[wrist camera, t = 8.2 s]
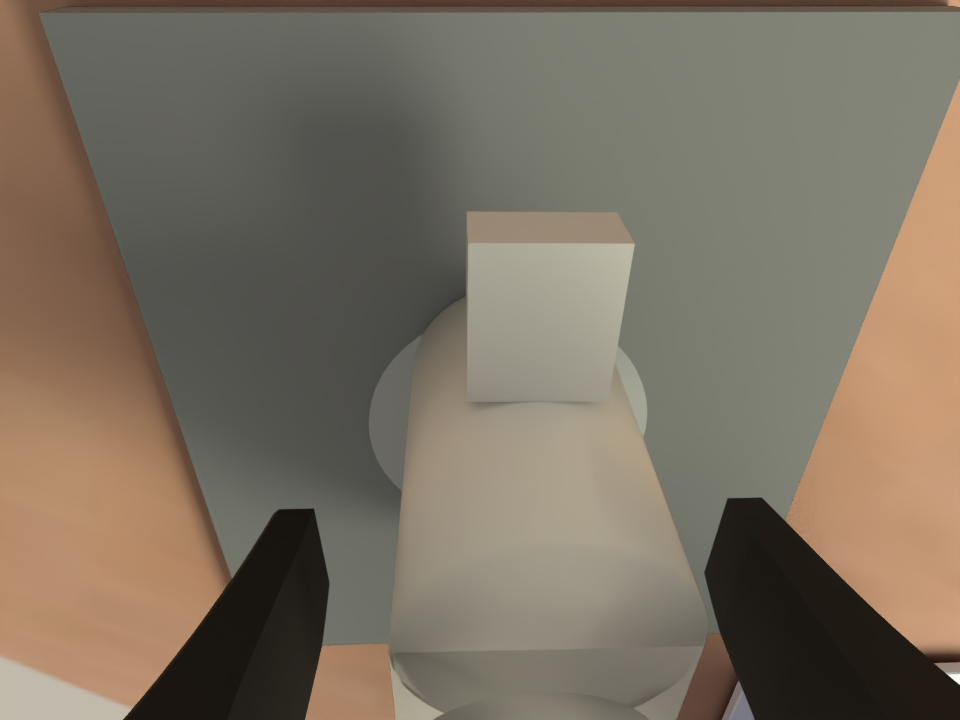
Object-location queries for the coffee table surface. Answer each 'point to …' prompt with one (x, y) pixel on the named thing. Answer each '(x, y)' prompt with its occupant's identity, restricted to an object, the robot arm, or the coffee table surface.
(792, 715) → the robot arm
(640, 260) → the mat
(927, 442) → the coffee table surface
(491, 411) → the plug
